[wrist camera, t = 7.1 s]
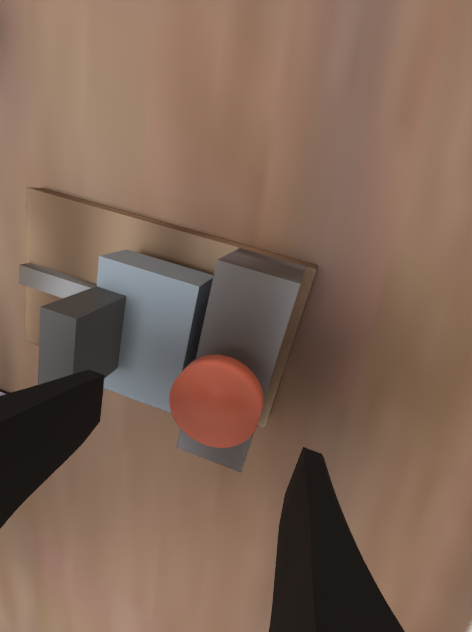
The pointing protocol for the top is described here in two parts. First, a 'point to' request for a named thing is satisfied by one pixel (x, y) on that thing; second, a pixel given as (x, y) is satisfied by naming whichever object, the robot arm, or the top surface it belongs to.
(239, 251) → the rail bed
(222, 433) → the button
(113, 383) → the carriage
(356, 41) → the top surface
